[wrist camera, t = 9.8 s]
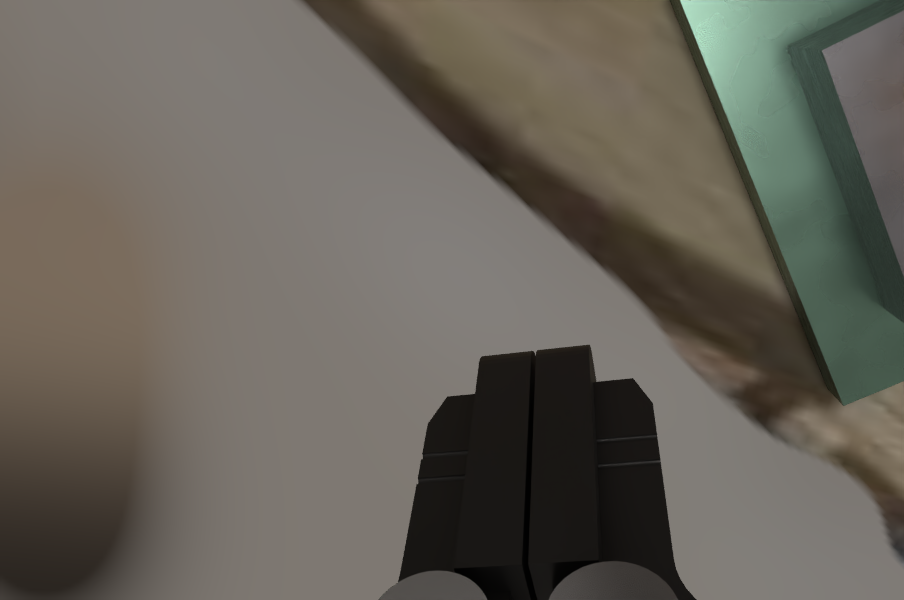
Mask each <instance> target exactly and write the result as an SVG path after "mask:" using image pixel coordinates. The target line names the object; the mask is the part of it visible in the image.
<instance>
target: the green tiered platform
mask: <svg viewBox="0 0 904 600" xmlns="http://www.w3.org/2000/svg"><path fill="white" fill-rule="evenodd" d="M670 2H671V4H672V7H673V9H674V12H675V14H676V17H677V19H678V22H679V24H680V27H681V29H682V31H683V34H684V36H685V39H686V41H687V44H688V46H689V49H690V51H691V54H692V56H693V59H694V61H695V63H696V66H697V68H698V71H699V73H700V76H701V78H702V81H703V83H704V86H705V88H706V91H707V93H708V95H709V98H710V100H711V103H712V105H713V108H714V110H715V113H716V115H717V118H718V120H719V122H720V125H721V127H722V130H723V132H724V135H725V137H726V140H727V142H728V145H729V147H730V150H731V152H732V154H733V157H734V159H735V162H736V164H737V167H738V169H739V172H740V174H741V177H742V179H743V182H744V184H745V186H746V189H747V191H748V194H749V196H750V199H751V201H752V204H753V206H754V209H755V211H756V214H757V216H758V218H759V221H760V223H761V226H762V228H763V231H764V233H765V236H766V238H767V241H768V243H769V245H770V248H771V250H772V253H773V255H774V258H775V260H776V263H777V265H778V268H779V270H780V273H781V275H782V277H783V280H784V282H785V285H786V287H787V290H788V292H789V295H790V297H791V300H792V302H793V305H794V307H795V309H796V312H797V314H798V317H799V319H800V322H801V324H802V327H803V329H804V332H805V334H806V337H807V339H808V341H809V344H810V346H811V349H812V351H813V354H814V356H815V359H816V361H817V364H818V366H819V368H820V371H821V373H822V376H823V378H824V381H825V383H826V386H827V388H828V390H829V391H830V392H831V393H832V394H833V395H834V396H835V397H836V398H837V399H838V400H839V402H840V403H841V404H842V405H843V406H844V405H847V404H849V403H852V402H854V401H856V400H859V399H861V398H864V397H866V396H869V395H871V394H874V393H876V392H878V391H881V390H883V389H886V388H888V387H891V386H893V385H895V384H898V383H900V382H903V381H904V0H670Z"/></svg>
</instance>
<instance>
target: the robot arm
mask: <svg viewBox="0 0 904 600" xmlns="http://www.w3.org/2000/svg"><path fill="white" fill-rule="evenodd" d="M422 454H423V459H422V460H421V464H420V470H419V475H418V482H419V483H418V484H417V486H416V491H415V496H414V502H413V507H412V513H411V518H410V523H409V529H408V534H407V540H406V545H405V551H404V557H403V561H402V567H401V572H400V576H399V580H398V583H396V584H395V585H394V586H392V587H391V588H390V589H388V591H386V592H385V593H384V594H383V595H382V596H381V597H380V598H379V600H696V599H695V598H694V597H693V596H692V594H691V593H690V592H689V591H688V590H687V589H686V587H685V586H684V584H683V583H682V581H681V580H680V577H679V575H678V573H677V570H676V567H675V563H674V557H673V550H672V543H671V535H670V528H669V521H668V514H667V506H666V499H665V491H664V484H663V476H662V469H661V462H660V454H659V447H658V440H657V432H656V424H655V417H654V410H653V403H652V402H651V401H650V399H649V398H648V397H647V395H646V394H645V393H644V392H643V390H642V389H641V388H640V387H639V385H638V384H637V383H636V382H635V380H634V379H633V378H632V379H622V380H611V381H601V382H596V377H595V371H594V364H593V359H592V352H591V347H590V345H583V346H573V347H565V348H555V349H545V350H537V352H536V356H535V353H534V352H533V351H528V352H519V353H510V354H501V355H492V356H482V357H481V358H480V362H479V369H478V376H477V384H476V392H475V394H471V395H460V396H450V397H447V398H446V399H445V401H444V402H443V404H442V405H441V406H440V408H439V409H438V410H437V412H436V413H435V415H434V416H433V418H432V419H431V420H430V422H429V423H428V426H427V432H426V437H425V442H424V448H423V453H422Z"/></svg>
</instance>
